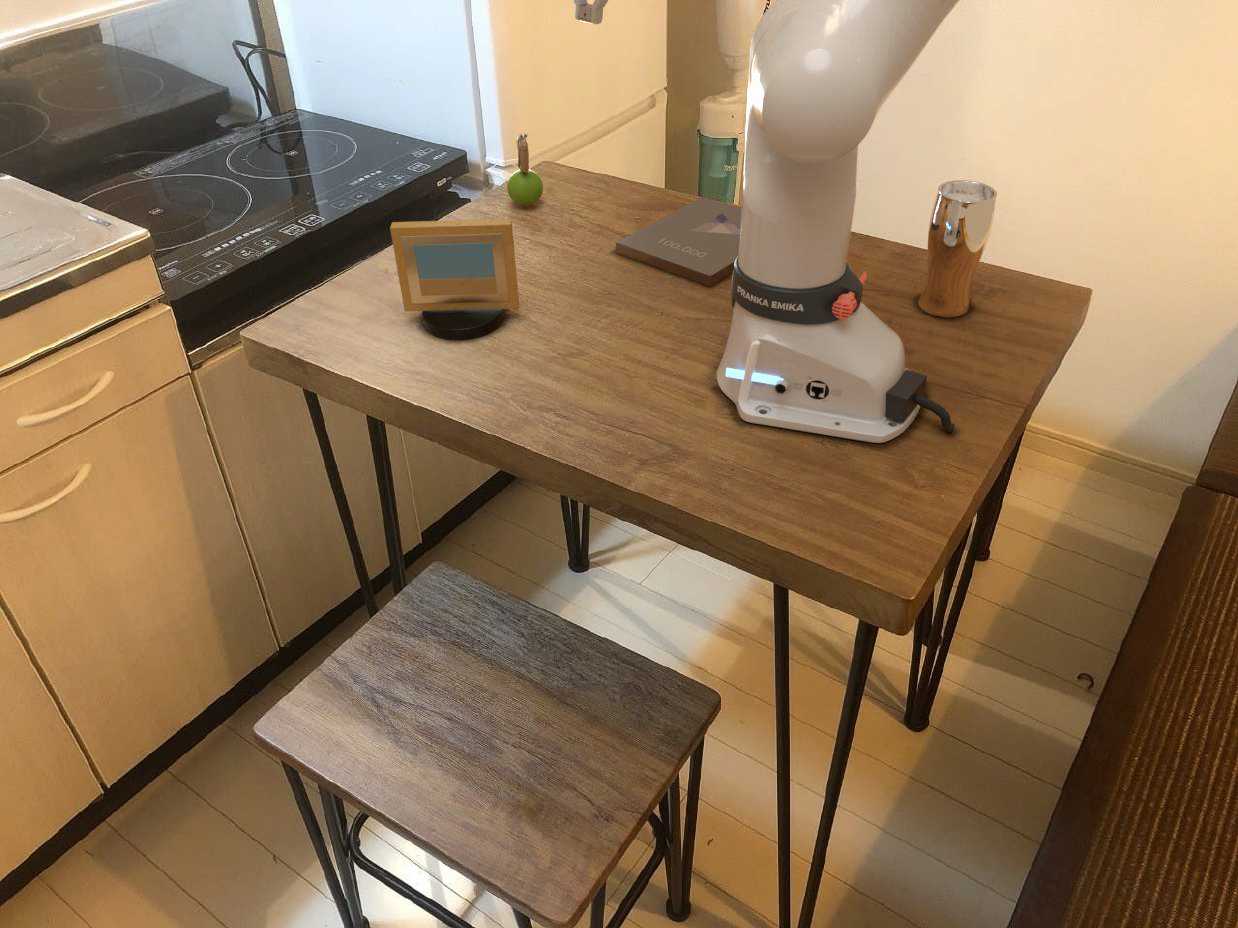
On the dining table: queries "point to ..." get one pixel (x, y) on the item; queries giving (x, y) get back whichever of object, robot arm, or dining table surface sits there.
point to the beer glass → (956, 245)
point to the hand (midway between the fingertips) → (588, 22)
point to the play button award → (690, 241)
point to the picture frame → (456, 264)
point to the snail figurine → (524, 178)
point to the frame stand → (462, 323)
